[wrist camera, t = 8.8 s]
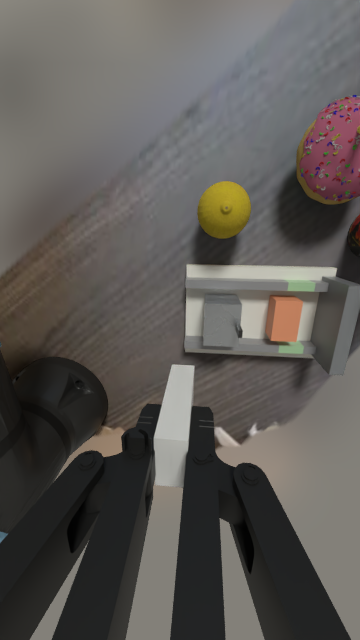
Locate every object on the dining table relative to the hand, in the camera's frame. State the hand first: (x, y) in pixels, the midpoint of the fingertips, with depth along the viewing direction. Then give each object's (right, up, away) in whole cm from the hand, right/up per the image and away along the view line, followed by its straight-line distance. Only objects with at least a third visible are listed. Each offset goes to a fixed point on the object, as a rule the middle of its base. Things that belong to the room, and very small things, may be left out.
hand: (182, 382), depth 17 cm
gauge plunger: (+5, +5, +16) cm, 17 cm away
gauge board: (+10, +6, +17) cm, 20 cm away
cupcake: (+16, +21, +11) cm, 29 cm away
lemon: (+5, +17, +14) cm, 22 cm away
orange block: (+13, +5, +15) cm, 20 cm away
